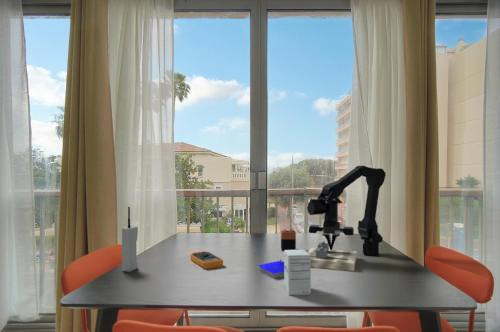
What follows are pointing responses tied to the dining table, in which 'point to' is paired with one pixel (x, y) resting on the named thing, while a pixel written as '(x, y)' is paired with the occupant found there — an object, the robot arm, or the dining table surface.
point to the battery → (288, 240)
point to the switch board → (334, 260)
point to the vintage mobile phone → (129, 246)
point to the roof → (273, 269)
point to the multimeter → (206, 259)
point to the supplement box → (297, 272)
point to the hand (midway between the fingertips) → (331, 249)
